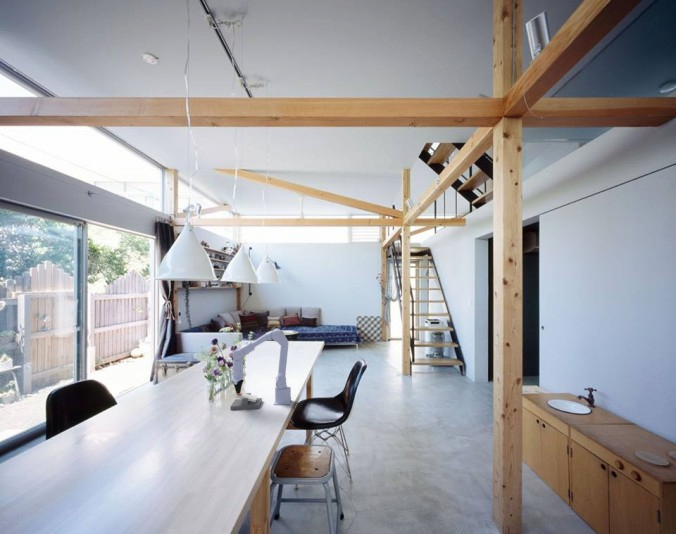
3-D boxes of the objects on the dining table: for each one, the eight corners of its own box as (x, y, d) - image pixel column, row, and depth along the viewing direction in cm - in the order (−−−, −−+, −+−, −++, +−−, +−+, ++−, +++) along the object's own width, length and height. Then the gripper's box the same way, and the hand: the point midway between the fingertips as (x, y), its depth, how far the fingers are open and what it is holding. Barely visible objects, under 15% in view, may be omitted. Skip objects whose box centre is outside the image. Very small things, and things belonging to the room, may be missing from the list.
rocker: (257, 398, 192) (257, 396, 192) (255, 402, 186) (255, 399, 186) (237, 394, 192) (238, 391, 192) (235, 397, 186) (235, 395, 186)
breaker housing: (261, 401, 195) (261, 392, 195) (258, 408, 184) (258, 398, 184) (235, 402, 194) (235, 393, 194) (230, 409, 183) (230, 400, 183)
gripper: (234, 366, 196) (234, 389, 196) (227, 373, 182) (228, 397, 181) (246, 366, 197) (246, 388, 196) (240, 373, 182) (240, 397, 182)
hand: (238, 393), depth 189 cm, fingers closed
